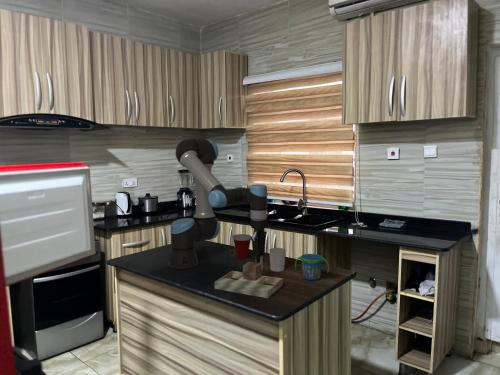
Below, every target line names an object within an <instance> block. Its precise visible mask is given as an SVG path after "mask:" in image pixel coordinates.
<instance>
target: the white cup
mask: <svg viewBox="0 0 500 375" xmlns="http://www.w3.org/2000/svg"><path fill="white" fill-rule="evenodd" d="M268 251H269V264H270V266H269V267H270V271H272V272H275V273H276V272H283V271H285V266H286V263H285V262H286V249H285V248H283V247H272V248H270V249H269V250H268Z"/></svg>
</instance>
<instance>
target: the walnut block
mask: <svg viewBox="0 0 500 375" xmlns="http://www.w3.org/2000/svg"><path fill="white" fill-rule="evenodd" d="M242 272H243V279H247V280H254V281H256V280H257V279H259V278H260V277H261V275H262V270H261V263H256V261H253V262H252V261H247V262H246V263H244V264H242Z"/></svg>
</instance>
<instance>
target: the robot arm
mask: <svg viewBox="0 0 500 375" xmlns="http://www.w3.org/2000/svg"><path fill="white" fill-rule="evenodd" d="M174 152H175V158H176V161H177V162H178V163H179V164H180V165H181V166H182V167H184V168H186V169H187V170H188V172H189V173H190V174H191V175H192V176H193V178H194V180H195V181H194V182H195V184H194V185H195V214H194V215H193V218H192V217H191V218H190V217H186V218H178V219H176V220H174V221H173V222H172V223H171V225H170V237H171V238H170V241H171V243H170V244H171V251H170V255H169V259H168V261H167V262H168V267H169V268H171V269H174V270H185V269H192V268H196V267H197V266H198V265H199V258H198V256H197V253H196V249H195V243H199V242H203V241H210V240H214V239H216V238H217V237H218V236H219V234H220V230H221V225H220V222H219V219H218V218H217V217H216V214H214V212H213V208H224V207H231V206H237V205H250V228H251V229H253V231H252V232H253V235H250V236H251V241H250V242H251V247H252V256H253V257H255V263H261V271H263V268H264V267H263V266H264V265H263V261H264V260H263V259H264V258H263V257H264V256H265V255H266V254H265V252H266V240H267V235H268V232H267V231H265V230H266V229H267V228H268V219H267V218H268V214H269V213H268V188H267V185H266V184H259V183H258V184H257V183H256V184H251V185H250V187H244V186H243V187H242V186H236V187H234V188H227V189H226V188H225V186H224V185H223V184H222V183H221V182H220V181H219V180H218V179H217V177H216V176H215V175H214V174H213V173H212V167H213V166H214V165H215V161H217V159H218V157H219V148H218V145H217V143H215V141H214V140H213V139H209V138H185V139H183V140H181V141H179V142H178V144H177V145H176V148H175V151H174Z"/></svg>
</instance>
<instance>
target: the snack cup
mask: <svg viewBox="0 0 500 375" xmlns="http://www.w3.org/2000/svg"><path fill="white" fill-rule="evenodd" d="M298 260H300V262H301V268H302V269H301V270H302V276H303V278H304V279H305V280H307V281H318V280H320V279H321V274H322V269H323V268H322V267H323V264H324V262H325V263H326V265H327V274H329V271H330V264H329V261H328V259H326V258H324V256H322V255H321V254H318V253H304V254H301V255H300V256H299V257H297V258H296V260H295V263H294V269H295V271H297V270H298V266H297V261H298Z"/></svg>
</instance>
